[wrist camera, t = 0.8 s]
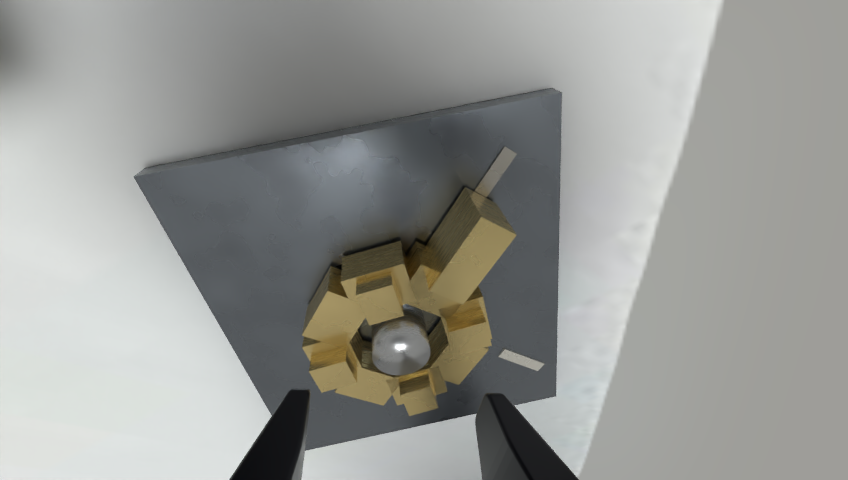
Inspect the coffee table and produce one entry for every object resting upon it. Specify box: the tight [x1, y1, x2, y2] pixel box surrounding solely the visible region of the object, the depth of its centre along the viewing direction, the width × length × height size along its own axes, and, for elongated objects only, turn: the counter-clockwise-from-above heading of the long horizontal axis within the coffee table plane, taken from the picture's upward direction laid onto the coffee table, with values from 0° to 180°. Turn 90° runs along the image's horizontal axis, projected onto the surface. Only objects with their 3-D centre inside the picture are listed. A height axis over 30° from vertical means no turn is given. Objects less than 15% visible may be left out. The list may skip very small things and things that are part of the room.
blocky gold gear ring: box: [302, 187, 517, 416], centre depth 20 cm, size 12×9×3 cm
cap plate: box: [134, 88, 562, 451], centre depth 21 cm, size 20×18×4 cm
